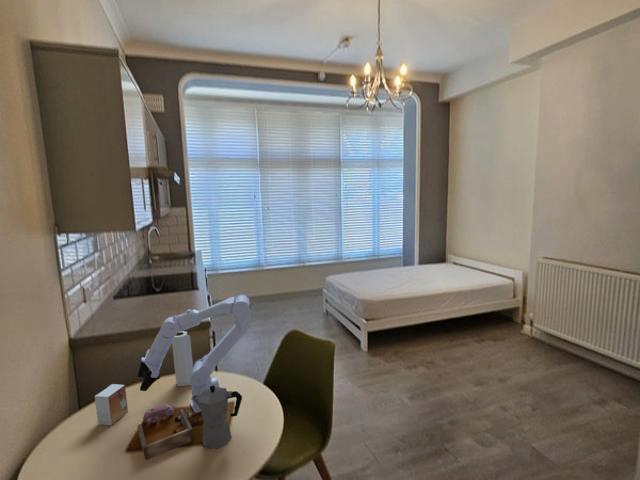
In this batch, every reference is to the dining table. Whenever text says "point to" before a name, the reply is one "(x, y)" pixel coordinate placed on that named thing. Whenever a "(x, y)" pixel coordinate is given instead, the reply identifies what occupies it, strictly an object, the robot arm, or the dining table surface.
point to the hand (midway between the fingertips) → (141, 383)
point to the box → (167, 439)
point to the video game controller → (158, 413)
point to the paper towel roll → (182, 358)
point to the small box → (111, 404)
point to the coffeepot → (216, 415)
